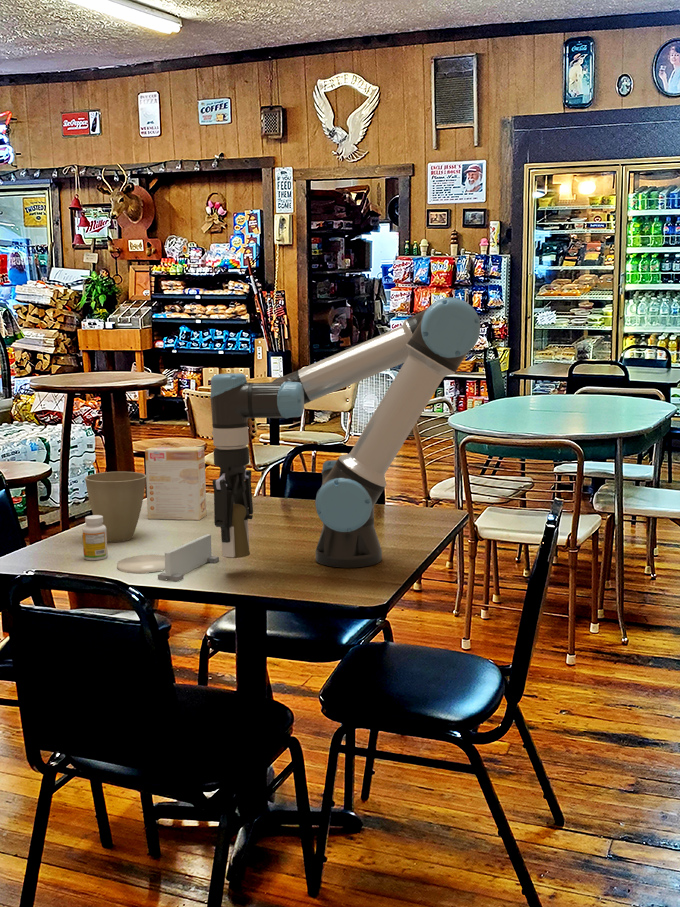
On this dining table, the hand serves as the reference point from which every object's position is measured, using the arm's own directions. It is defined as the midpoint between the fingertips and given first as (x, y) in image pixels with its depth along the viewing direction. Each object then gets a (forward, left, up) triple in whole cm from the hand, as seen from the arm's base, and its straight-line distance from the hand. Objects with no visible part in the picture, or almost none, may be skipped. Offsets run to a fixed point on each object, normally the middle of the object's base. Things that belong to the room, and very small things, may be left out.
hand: (235, 552), depth 208 cm
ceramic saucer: (+23, 0, -5) cm, 23 cm away
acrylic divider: (+12, 0, -5) cm, 12 cm away
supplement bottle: (+38, -2, -5) cm, 38 cm away
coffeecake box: (+43, -47, -5) cm, 63 cm away
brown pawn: (0, 0, -1) cm, 1 cm away
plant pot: (+44, -20, -5) cm, 48 cm away
